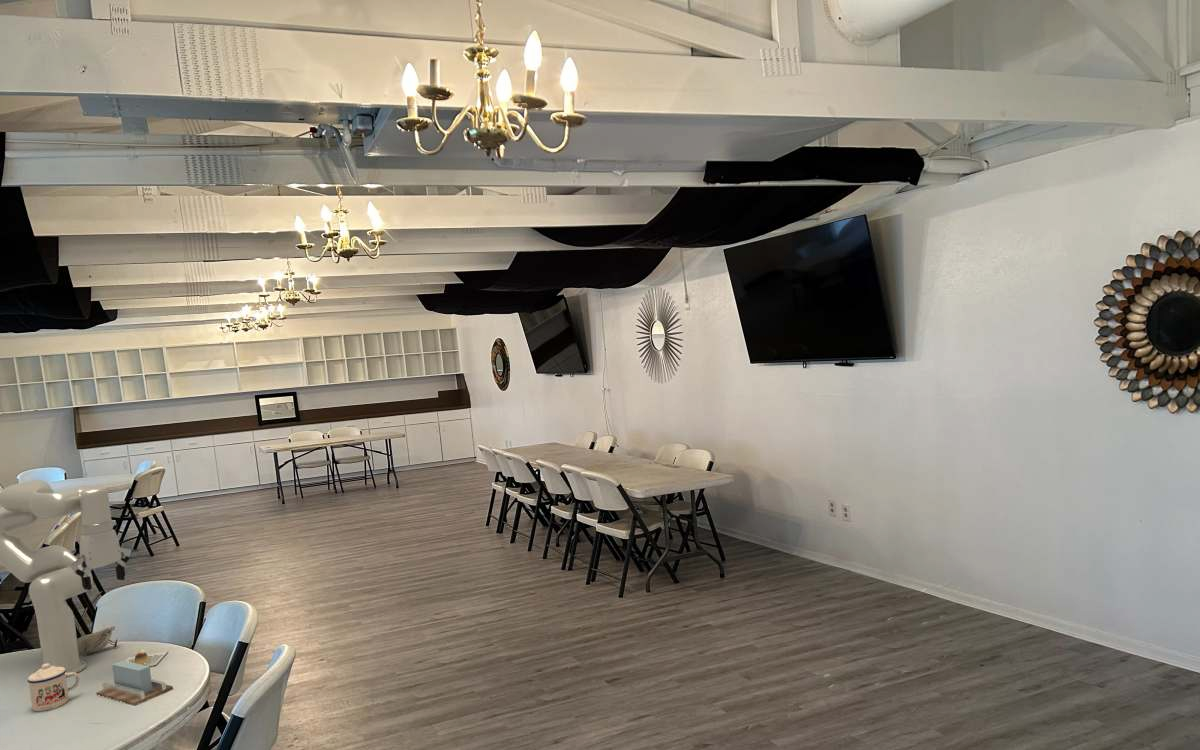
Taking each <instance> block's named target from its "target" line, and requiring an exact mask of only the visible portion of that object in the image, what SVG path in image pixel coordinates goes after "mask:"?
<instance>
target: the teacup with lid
mask: <svg viewBox="0 0 1200 750" xmlns="http://www.w3.org/2000/svg"><path fill="white" fill-rule="evenodd" d="M70 676H75V682H74V684H73V685H72V686H70V687H69V688H68V682H67V678H68V677H70ZM27 683H28V685H29V686H28V687H29V693H30V695H29V696H30V701H31V709H32V710H33V711H34V712H44V711H49V710H53V709H55V708H59V707H61V706H64V705H65V704H66V703H67V702H68V701H69V699H70V696H69V692H71V691H72V690H74V689H76V688H77V687H78V685H79V684H80V675H79V673H78V672H77V673H74V672H71V673H67V674H66V670H65V668H64V667H55V666H50V664H49V663H47V664H43V663H42V665H41V667H40V668H39V669H38V670H37V671H36V672H33V673H32V674H30V675H29V676H28V678H27Z"/></svg>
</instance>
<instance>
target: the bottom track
mask: <svg viewBox="0 0 1200 750" xmlns="http://www.w3.org/2000/svg"><path fill="white" fill-rule="evenodd" d="M151 681H152V689H153V691H151V692H148V693H146V694H144V691H142V690H138V689H134V688H130V687H126V686H122V685H118V684H115V683H114V682H110V681H103V682H102V689H100V690H98V691H96V692H95V695H96V694H97V695H96V696H98V695H100V696H99V697H101V696H104V697H103V698H105V697H108V698H107V699H109V698H111V699H110V700H112V699H115V700H114V701H116V700H118V701H117V702H120V701H122V702H121V703H123V702H125V703H124V704H127V703H129V704H128V705H130V704H132V705H131V706H134V705H135V706H137V705H139V704H141V702H142V703H144V702H146V701H148V699H149V700H150V699H153V698H156V697H159V696H160V695H163V694H165V693H167V692H170V691H171V690H173V689H174V686H173V685H168V684H166V682H165V681H161V680H158V679H157V680H156V679H153V678H151ZM143 701H144V702H143ZM138 703H139V704H138ZM136 704H137V705H136Z"/></svg>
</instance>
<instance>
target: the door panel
mask: <svg viewBox="0 0 1200 750" xmlns="http://www.w3.org/2000/svg"><path fill="white" fill-rule="evenodd" d="M111 665H112V666H111V667H112V672H113V674H112V675H113V681H114V682H113V683H114V684H118V685H122V686H126V687H130V688H134V689H138V690H142V691H144V694H146V693H148V692H151V691H153V689H152V681H151V679H152V674H151V667H150V666H149V665H146V664H143V665H141V664H136V663H134V662H131V661H129V662H127V661H125V660H120V661H118V662H115V663H112V664H111Z"/></svg>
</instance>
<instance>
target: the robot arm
mask: <svg viewBox="0 0 1200 750" xmlns="http://www.w3.org/2000/svg"><path fill="white" fill-rule="evenodd" d="M109 497H110V496H109V491H108V488H106V487H104V486H96V487H93V486H88V485H87V486H78V487H74V488H68V489H64V490H60V491H55V492H54V490H53V488H52V487H51V485H50V484H49V483H48V482H47V481H44V480H42V479H36V480H29V481H24V482H20V483H14V484H11V485H9V486H6V487H5V488H3V489H2V490H1V491H0V564H2V566H3V567H4V568H6V569H7V570H8V572H10V573H11V574H12V575H13V576H14V577H15V578H16V579H18V580H19V581H20V582H23V583H28V584H29V583H30V584H29V587H28V594H29V598H30V600H31V603H32V605H33V608H34V611H35V616H36V624H37V631H38V636H39V645H40V651H41V653H40V654H41V659H42V661H41V662H42V665H43V664H47V663H49V664H50V666H55V667H64V668H65V670H66V674H67V673H71V672H74V673H77V674H78V673H79V672H81V671H83V670H84V669H85V668H86V667H87V662H86V661H84V660H80V654H79V651H78V644H77V639H78V637H77V631H76V629H77V628H76V622H75V617H74V616H75V615H74V612H73V609H71V607H70V606H69V605H68V604H67V603H65V600H68V599H71V598H73V597H77V596H78V595H82V594H83V593H85V592H88V591H91V590H92V588H93V587H92V585H93V582H94V579H93V578H94V577H93V575H92V574H93V573H92V570H93V569H97V568H101V567H102V568H103V567H105V566H108V565H113V564H115V565H116V566H115V572H116V579H117V581H118V580H119V581H125V580H126V578H125V577H126V571H125V567H126V566H127V563H128V561H129V559H130V556H131V555H132V550H131V549H128V548H124V547H122V546H120V542H119V539H118V538H119V537H118V535H117V532H116V530H115V529H113V528H114V526H117V521H116V520H112V515H111V514H112V513H111V506H110V498H109ZM77 513H80V516H81V517H80V518H81V523H82V531H83V532H82V533H83V535H81V536H80V538H79V539H80V540H79V557H77V556H75V555H74V554H73V553H72V552H71V551H70V550H69V549H67V548H66V547H64V546H62V545H58V544H56V545H55V544H54V545H49V546H45V547H41V548H33V547H31V546H30V545H28V543H27V542H26V541H25V540H23V539H21V538H19V537H16V536H13V535H10V534H8V533H12V532H16V531H21V530H25V529H27V528H30V527H32V526H33V525H34V524H35V523H36V522H37V521H39V518H43V519H44V518H45V519H55V518H56V519H57V518H62V517H65V516H66V517H67V516H69V515H74V514H77ZM122 553H123V557H122Z"/></svg>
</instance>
